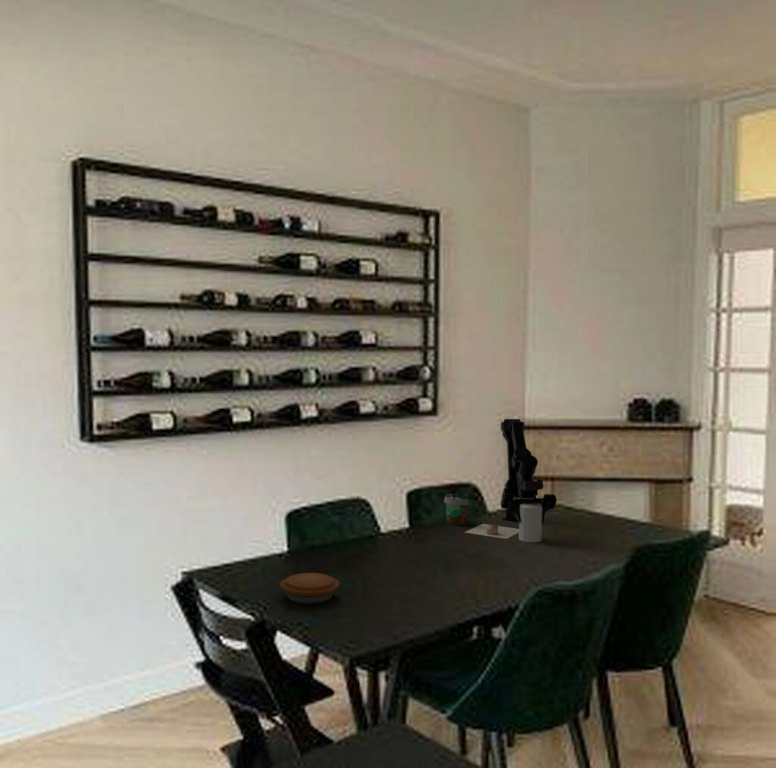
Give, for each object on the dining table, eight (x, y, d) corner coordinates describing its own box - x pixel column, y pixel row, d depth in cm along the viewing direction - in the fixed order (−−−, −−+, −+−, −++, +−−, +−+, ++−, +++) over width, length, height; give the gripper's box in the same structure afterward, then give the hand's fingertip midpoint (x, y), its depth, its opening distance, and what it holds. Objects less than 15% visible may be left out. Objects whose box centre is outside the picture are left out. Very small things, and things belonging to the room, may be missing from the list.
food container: (437, 520, 294) (438, 494, 293) (451, 519, 296) (452, 493, 296) (453, 527, 282) (454, 500, 282) (468, 526, 285) (469, 499, 284)
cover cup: (523, 536, 271) (524, 502, 271) (543, 539, 268) (545, 505, 267) (515, 540, 265) (516, 506, 264) (536, 544, 261) (537, 508, 261)
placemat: (482, 524, 288) (482, 523, 288) (523, 530, 280) (523, 529, 280) (464, 533, 275) (464, 532, 275) (506, 539, 266) (506, 538, 266)
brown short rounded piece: (489, 531, 276) (489, 524, 276) (499, 533, 274) (500, 526, 274) (484, 533, 273) (484, 526, 273) (495, 535, 271) (495, 528, 271)
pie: (268, 596, 203) (268, 577, 203) (314, 584, 214) (314, 566, 214) (304, 611, 192) (305, 591, 192) (351, 597, 203) (351, 578, 203)
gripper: (502, 470, 269) (507, 508, 258) (556, 471, 269) (563, 509, 259) (498, 488, 277) (502, 526, 267) (550, 489, 278) (556, 527, 267)
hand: (531, 522), depth 265 cm, fingers closed on cover cup, 7 cm apart
